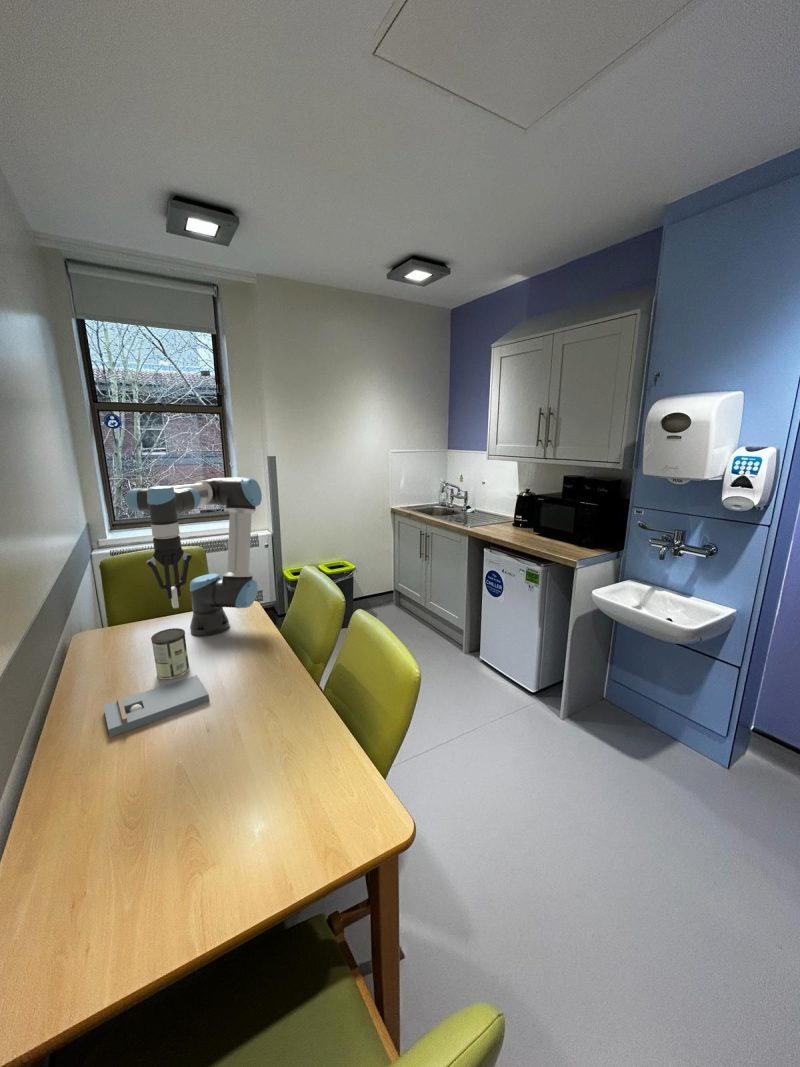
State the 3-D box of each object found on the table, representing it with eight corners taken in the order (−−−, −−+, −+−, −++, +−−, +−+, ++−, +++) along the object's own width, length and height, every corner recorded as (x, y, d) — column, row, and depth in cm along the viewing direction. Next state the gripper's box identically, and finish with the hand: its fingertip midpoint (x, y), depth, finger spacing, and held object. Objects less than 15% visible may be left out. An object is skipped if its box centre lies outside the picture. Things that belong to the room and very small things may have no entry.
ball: (136, 700, 127) (126, 708, 126) (138, 705, 125) (128, 714, 124) (143, 706, 129) (134, 714, 128) (146, 711, 127) (136, 720, 126)
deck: (197, 681, 144) (196, 670, 143) (209, 701, 133) (208, 689, 132) (104, 712, 128) (102, 700, 127) (109, 737, 117) (107, 724, 117)
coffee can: (168, 663, 155) (163, 627, 152) (195, 664, 154) (191, 628, 151) (149, 679, 145) (143, 641, 142) (178, 680, 144) (173, 642, 141)
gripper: (186, 531, 141) (194, 598, 146) (140, 537, 133) (150, 608, 138) (191, 535, 135) (200, 605, 140) (144, 541, 127) (155, 615, 132)
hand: (175, 606), depth 139 cm, fingers closed
